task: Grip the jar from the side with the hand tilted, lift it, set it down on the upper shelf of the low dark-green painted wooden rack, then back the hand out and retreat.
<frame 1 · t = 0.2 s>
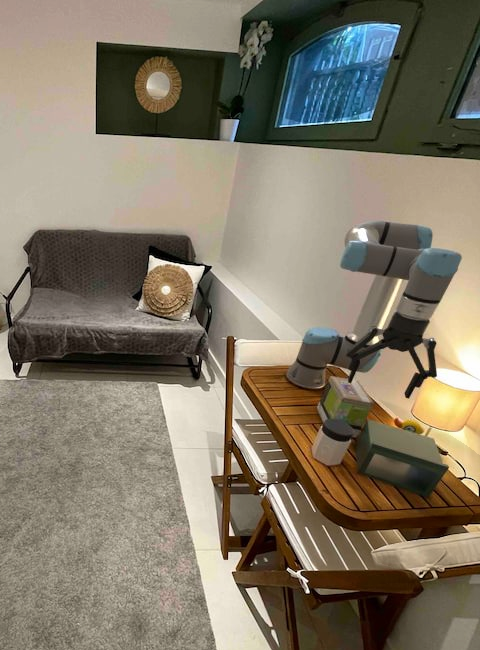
hand: (377, 388, 102), 28 cm above the table, tool pointing down, fingers open, 13 cm apart
shelf: (388, 468, 116), on the table
tea box: (335, 423, 135), on the table
duckling: (403, 447, 126), on the table
jar: (324, 456, 119), on the table
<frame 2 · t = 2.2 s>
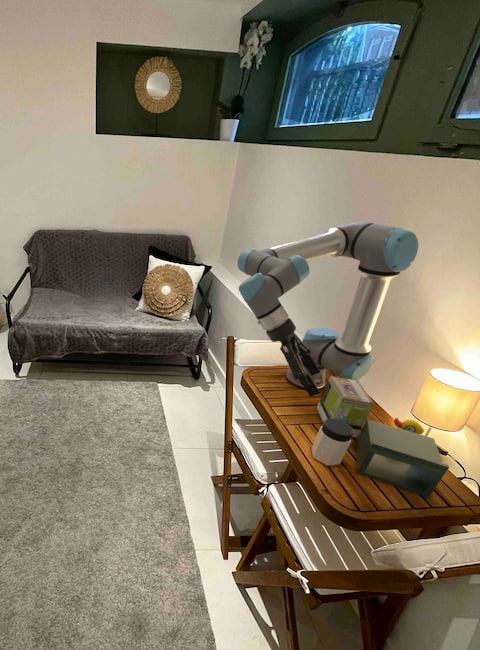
hand: (315, 383, 110), 24 cm above the table, tool tilted 45°, fingers open, 13 cm apart
nothing on the table moved.
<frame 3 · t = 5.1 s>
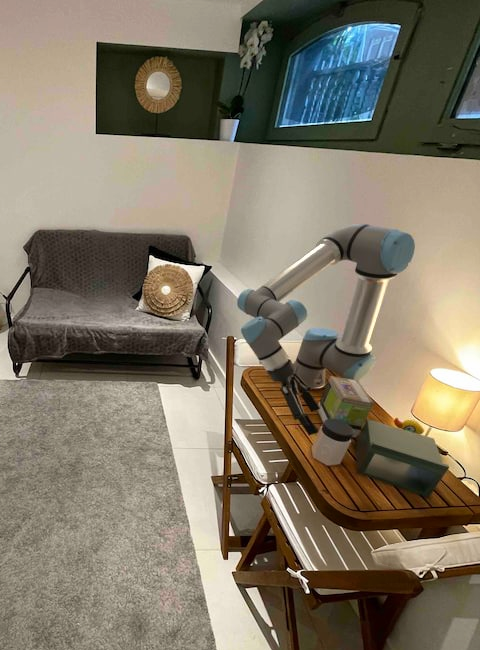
hand: (314, 421, 115), 11 cm above the table, tool tilted 45°, fingers open, 13 cm apart
nothing on the table moved.
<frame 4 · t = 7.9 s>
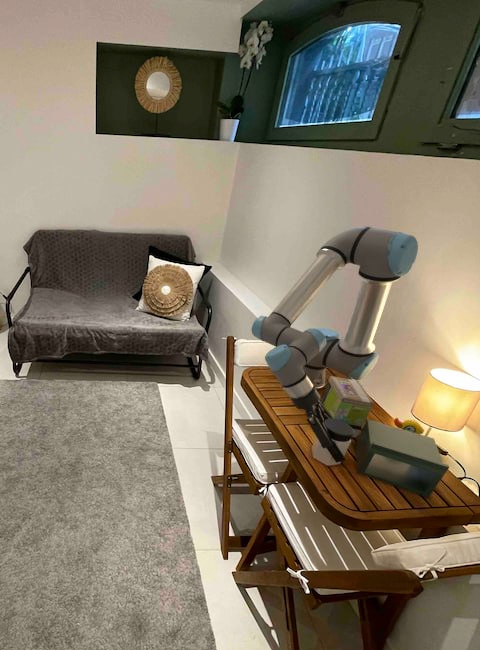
hand: (340, 451, 115), 4 cm above the table, tool tilted 45°, fingers closed on jar, 9 cm apart
jar: (324, 456, 119), on the table, touching gripper
everything else where it was.
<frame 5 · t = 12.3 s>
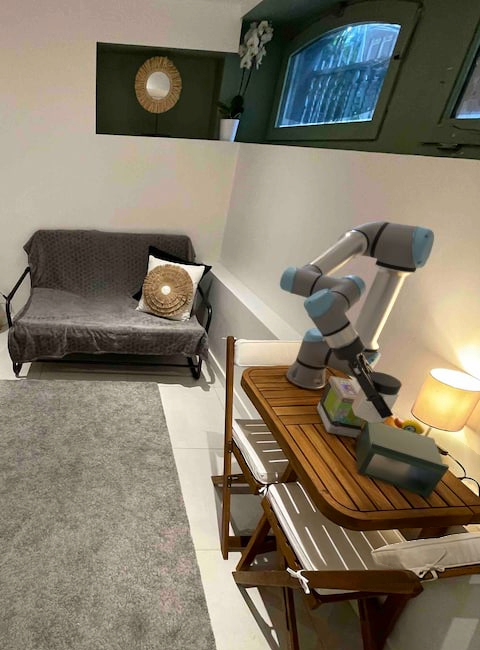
hand: (385, 407, 106), 22 cm above the table, tool tilted 45°, fingers closed on jar, 9 cm apart
jar: (367, 414, 109), point 18 cm above the table, touching gripper
everything else where it was.
when the fingers open (14 cm above the table, at t = 16.8 s): jar stays where it is, resting on shelf.
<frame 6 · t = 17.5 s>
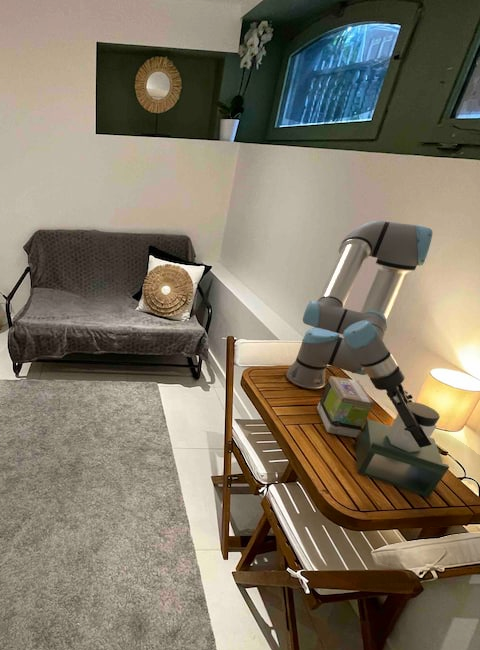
hand: (421, 431, 107), 15 cm above the table, tool tilted 45°, fingers open, 13 cm apart
jar: (402, 443, 111), point 10 cm above the table, touching shelf
everything else where it was.
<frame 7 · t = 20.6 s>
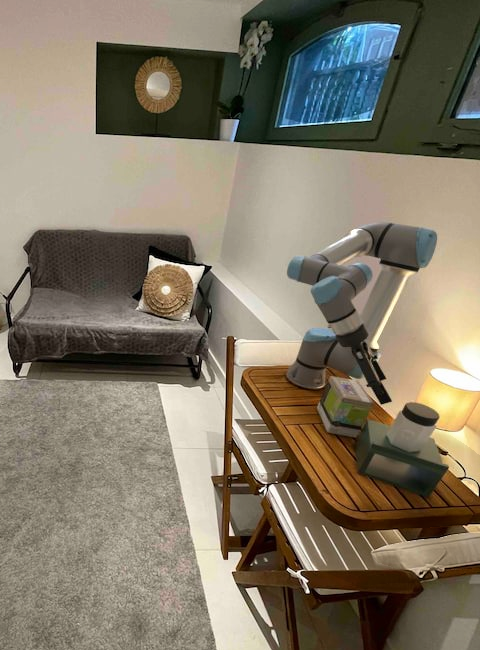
hand: (383, 390, 108), 25 cm above the table, tool tilted 45°, fingers open, 13 cm apart
nothing on the table moved.
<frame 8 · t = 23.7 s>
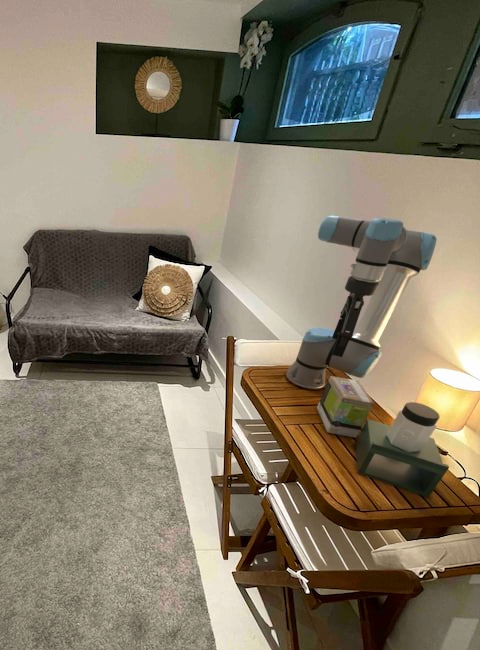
hand: (336, 346, 115), 32 cm above the table, tool pointing down, fingers open, 13 cm apart
nothing on the table moved.
at the end: jar inside the target area on the shelf (0.1 cm from its centre), point 9.9 cm above the shelf's base; jar tilted 0°; the gripper is holding nothing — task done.
